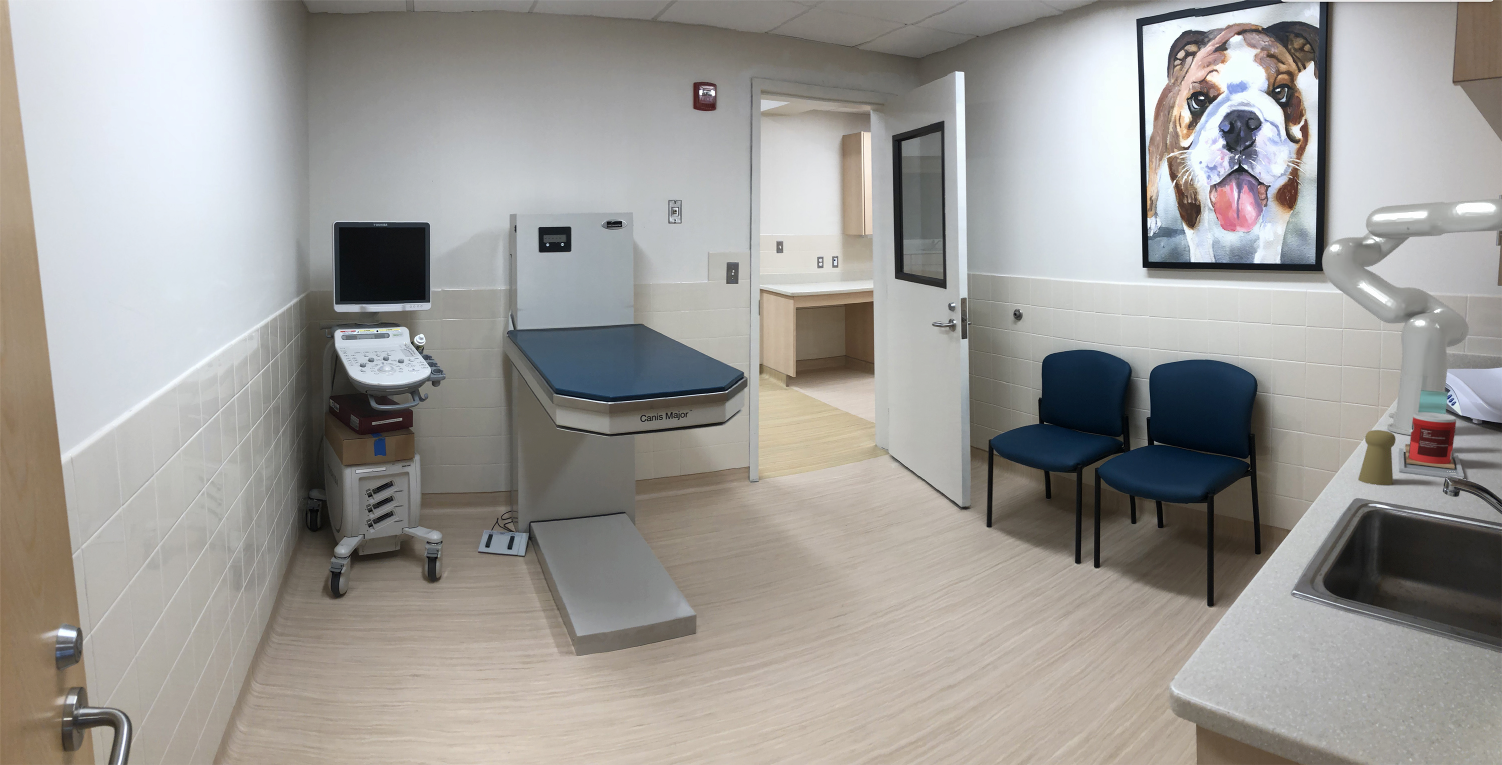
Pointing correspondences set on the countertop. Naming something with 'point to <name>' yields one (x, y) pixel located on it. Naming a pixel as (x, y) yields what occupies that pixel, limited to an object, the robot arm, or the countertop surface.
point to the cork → (1378, 458)
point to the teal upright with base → (1431, 404)
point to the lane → (1429, 467)
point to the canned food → (1432, 438)
